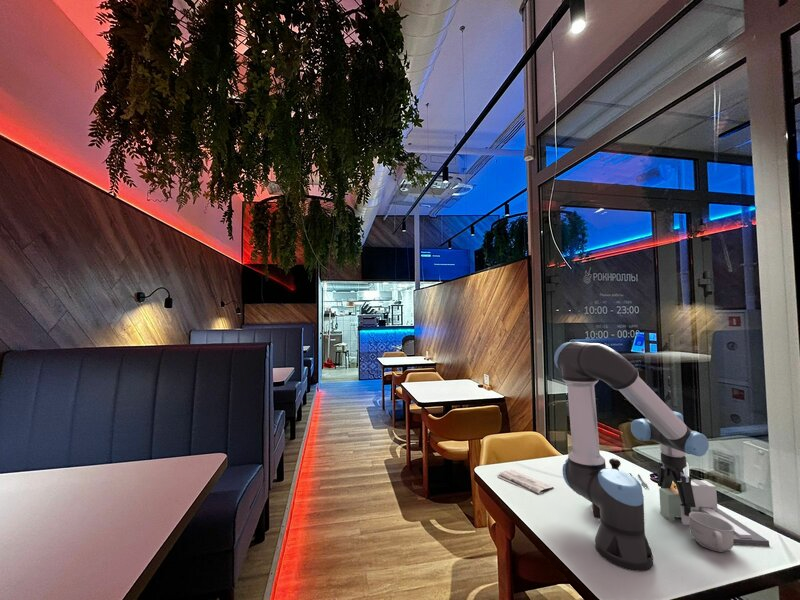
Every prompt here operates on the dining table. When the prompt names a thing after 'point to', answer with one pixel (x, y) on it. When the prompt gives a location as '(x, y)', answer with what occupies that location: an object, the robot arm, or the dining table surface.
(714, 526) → the teacup
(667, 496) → the block
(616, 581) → the dining table surface
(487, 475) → the dining table surface
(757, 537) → the stepped base plate
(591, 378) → the robot arm
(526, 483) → the newspaper
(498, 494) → the dining table surface
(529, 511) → the dining table surface
